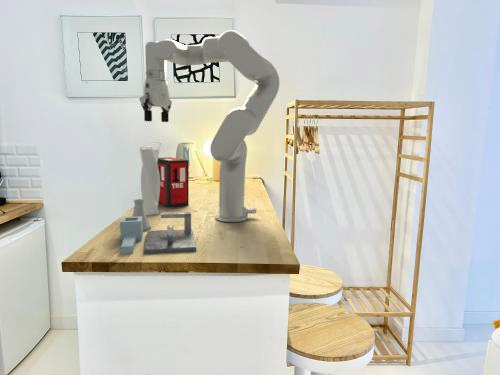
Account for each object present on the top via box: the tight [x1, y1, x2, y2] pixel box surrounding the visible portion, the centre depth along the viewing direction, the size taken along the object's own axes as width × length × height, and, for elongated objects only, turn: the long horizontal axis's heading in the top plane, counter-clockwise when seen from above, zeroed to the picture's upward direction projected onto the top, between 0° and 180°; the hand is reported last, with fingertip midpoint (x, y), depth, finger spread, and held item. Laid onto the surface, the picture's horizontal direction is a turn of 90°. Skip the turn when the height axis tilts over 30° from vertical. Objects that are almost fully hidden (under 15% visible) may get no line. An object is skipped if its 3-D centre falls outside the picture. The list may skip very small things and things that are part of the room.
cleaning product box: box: [157, 156, 190, 209], centre depth 160 cm, size 16×9×20 cm, turn 40°
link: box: [119, 216, 144, 255], centre depth 106 cm, size 17×6×6 cm, turn 13°
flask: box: [131, 198, 152, 232], centre depth 120 cm, size 7×7×10 cm
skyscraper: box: [139, 141, 162, 216], centre depth 141 cm, size 8×8×28 cm
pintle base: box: [143, 211, 197, 255], centre depth 107 cm, size 14×18×7 cm
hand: (156, 121), depth 142 cm, fingers open, 9 cm apart
